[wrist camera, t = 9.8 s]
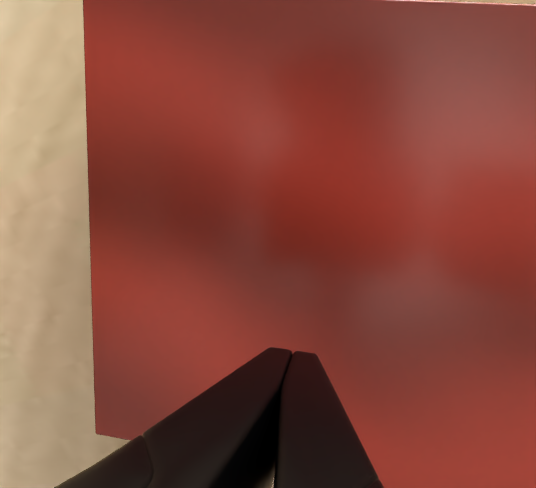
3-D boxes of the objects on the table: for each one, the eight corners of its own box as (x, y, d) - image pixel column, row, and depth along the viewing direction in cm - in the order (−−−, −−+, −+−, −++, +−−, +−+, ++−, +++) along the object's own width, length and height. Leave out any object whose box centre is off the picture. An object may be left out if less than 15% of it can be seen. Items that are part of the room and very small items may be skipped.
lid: (97, -7, 14) (81, -13, 13) (648, 15, 11) (668, 8, 11) (106, 420, 17) (94, 434, 17) (526, 497, 15) (534, 518, 14)
